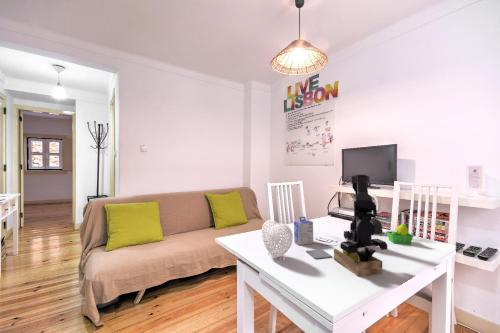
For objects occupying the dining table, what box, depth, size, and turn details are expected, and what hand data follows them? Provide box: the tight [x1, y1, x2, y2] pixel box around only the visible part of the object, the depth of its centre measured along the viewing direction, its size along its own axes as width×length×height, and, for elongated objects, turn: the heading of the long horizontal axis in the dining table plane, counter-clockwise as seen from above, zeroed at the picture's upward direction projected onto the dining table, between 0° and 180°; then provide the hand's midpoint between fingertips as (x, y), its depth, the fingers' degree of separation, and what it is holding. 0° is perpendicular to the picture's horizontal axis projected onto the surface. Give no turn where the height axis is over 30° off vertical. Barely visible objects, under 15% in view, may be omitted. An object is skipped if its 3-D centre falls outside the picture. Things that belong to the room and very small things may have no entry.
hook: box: [369, 194, 384, 236], centre depth 146 cm, size 11×11×25 cm
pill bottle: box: [342, 238, 359, 262], centre depth 102 cm, size 6×6×12 cm
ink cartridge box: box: [293, 216, 314, 246], centre depth 127 cm, size 10×6×14 cm, turn 108°
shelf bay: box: [333, 248, 383, 277], centre depth 98 cm, size 11×16×5 cm
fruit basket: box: [386, 223, 414, 245], centre depth 128 cm, size 11×9×11 cm
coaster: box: [305, 248, 333, 260], centre depth 110 cm, size 9×9×1 cm
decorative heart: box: [261, 219, 294, 262], centre depth 106 cm, size 18×11×17 cm, turn 35°
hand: (363, 265), depth 94 cm, fingers closed
